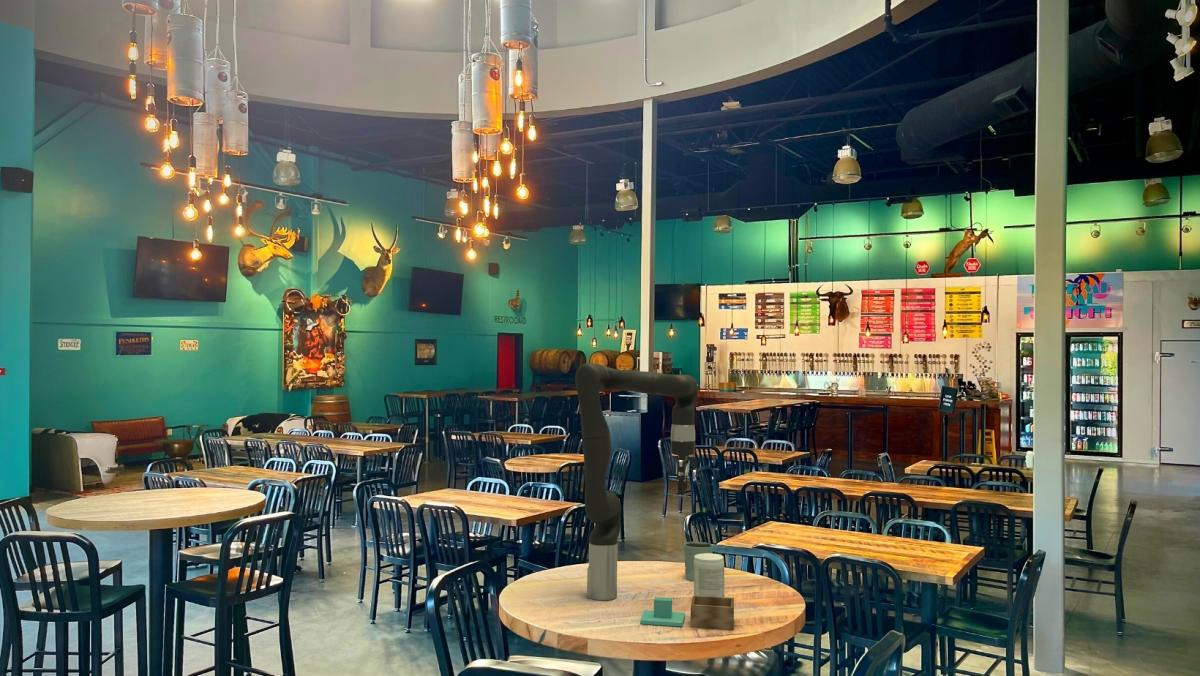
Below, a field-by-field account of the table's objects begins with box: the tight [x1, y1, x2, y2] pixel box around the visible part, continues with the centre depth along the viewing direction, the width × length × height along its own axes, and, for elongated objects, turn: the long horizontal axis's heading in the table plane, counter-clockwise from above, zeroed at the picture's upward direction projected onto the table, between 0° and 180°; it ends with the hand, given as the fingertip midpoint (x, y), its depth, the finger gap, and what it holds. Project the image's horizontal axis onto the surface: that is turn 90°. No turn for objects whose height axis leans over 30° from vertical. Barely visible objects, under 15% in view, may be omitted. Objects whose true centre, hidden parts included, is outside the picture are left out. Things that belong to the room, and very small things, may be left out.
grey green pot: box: [683, 541, 714, 582], centre depth 290 cm, size 10×10×12 cm
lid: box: [639, 596, 686, 628], centre depth 240 cm, size 12×10×7 cm
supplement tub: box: [693, 553, 726, 597], centre depth 260 cm, size 10×10×15 cm
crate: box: [690, 594, 735, 631], centre depth 238 cm, size 12×10×7 cm
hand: (682, 491), depth 256 cm, fingers open, 8 cm apart
